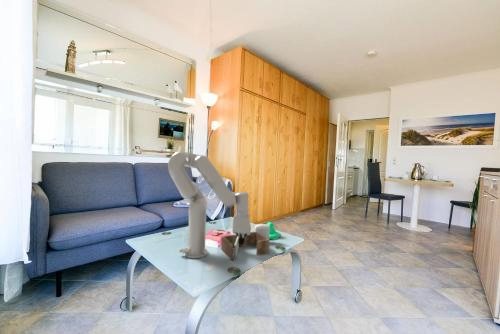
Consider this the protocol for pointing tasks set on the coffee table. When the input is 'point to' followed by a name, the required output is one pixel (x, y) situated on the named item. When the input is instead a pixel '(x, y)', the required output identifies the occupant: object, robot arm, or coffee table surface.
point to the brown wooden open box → (245, 243)
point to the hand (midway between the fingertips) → (241, 243)
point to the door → (236, 247)
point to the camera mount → (273, 231)
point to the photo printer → (263, 230)
